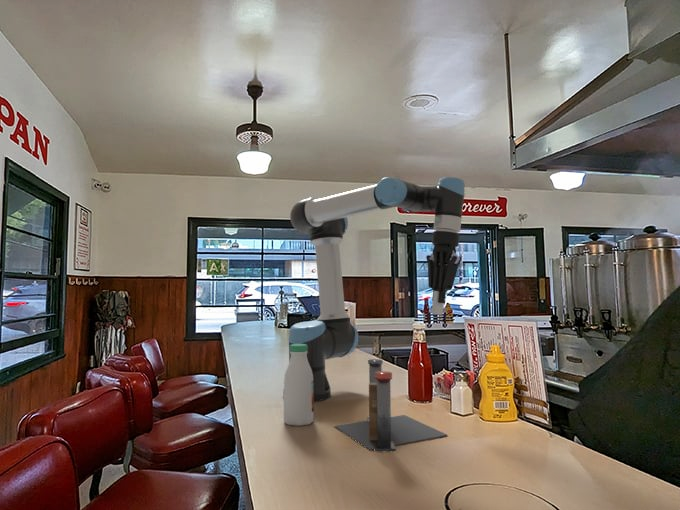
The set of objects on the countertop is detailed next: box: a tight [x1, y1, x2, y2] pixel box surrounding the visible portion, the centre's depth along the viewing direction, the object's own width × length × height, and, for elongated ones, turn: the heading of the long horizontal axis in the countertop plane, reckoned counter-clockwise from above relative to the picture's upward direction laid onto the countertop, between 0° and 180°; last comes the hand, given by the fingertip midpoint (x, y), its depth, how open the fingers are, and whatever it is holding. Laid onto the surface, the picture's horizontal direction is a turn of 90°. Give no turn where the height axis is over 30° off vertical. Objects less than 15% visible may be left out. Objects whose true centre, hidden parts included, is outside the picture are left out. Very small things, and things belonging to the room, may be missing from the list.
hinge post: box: [366, 358, 384, 423], centre depth 118 cm, size 4×4×16 cm
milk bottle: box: [283, 344, 315, 427], centre depth 118 cm, size 8×8×20 cm
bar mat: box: [334, 414, 448, 451], centre depth 110 cm, size 18×21×1 cm
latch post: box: [373, 370, 397, 453], centre depth 99 cm, size 4×4×16 cm
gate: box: [368, 383, 377, 440], centre depth 108 cm, size 14×2×12 cm, turn 175°
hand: (436, 314), depth 128 cm, fingers closed
